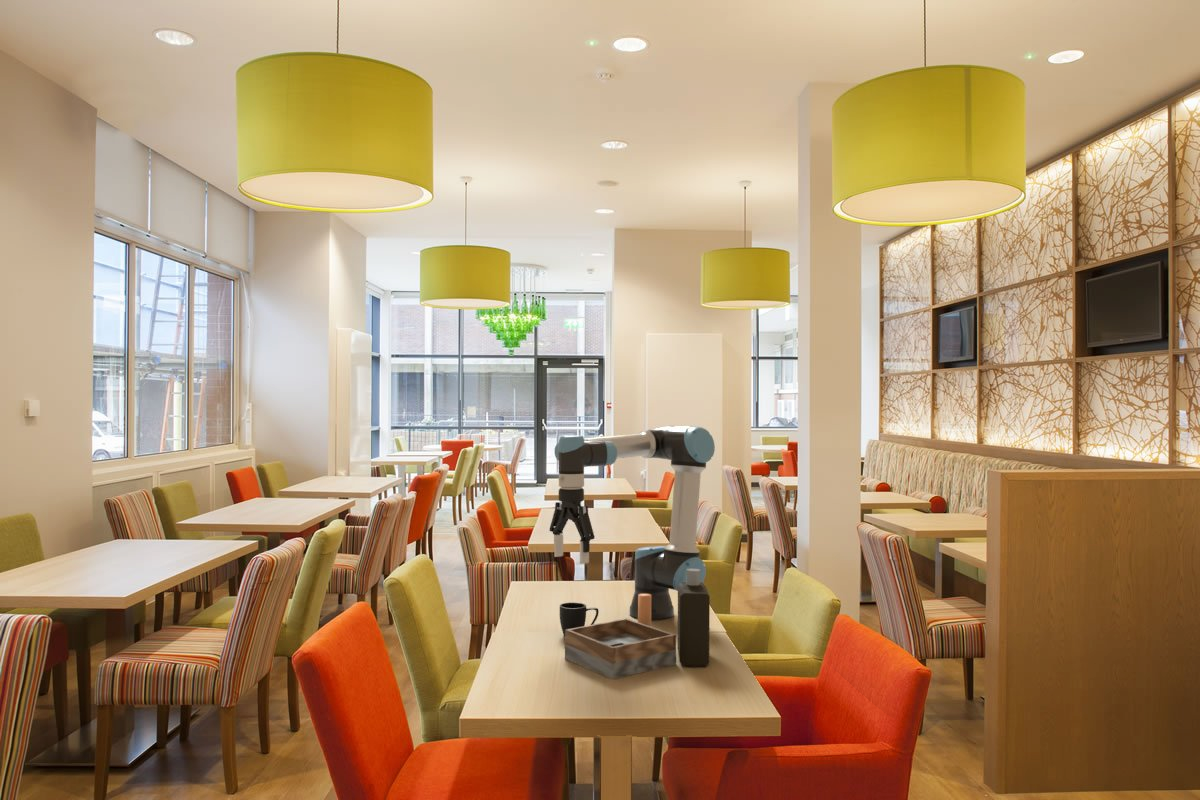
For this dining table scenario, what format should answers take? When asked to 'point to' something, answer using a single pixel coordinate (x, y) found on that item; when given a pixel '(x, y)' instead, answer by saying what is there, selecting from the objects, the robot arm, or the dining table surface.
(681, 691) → the dining table surface
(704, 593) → the bottle
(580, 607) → the mug
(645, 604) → the peg
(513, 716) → the dining table surface
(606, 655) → the crate
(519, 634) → the dining table surface
